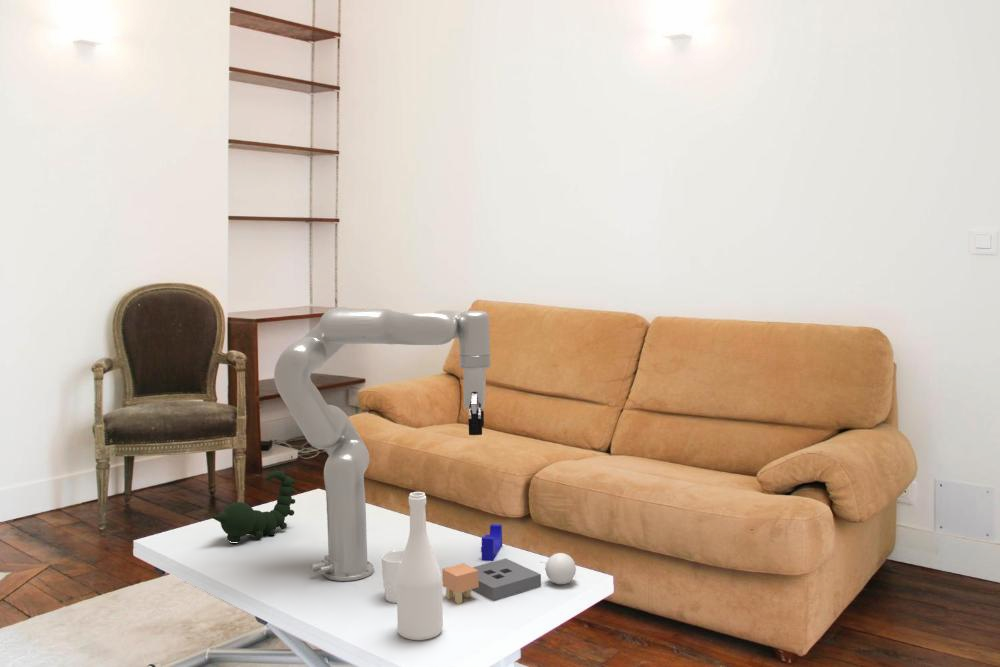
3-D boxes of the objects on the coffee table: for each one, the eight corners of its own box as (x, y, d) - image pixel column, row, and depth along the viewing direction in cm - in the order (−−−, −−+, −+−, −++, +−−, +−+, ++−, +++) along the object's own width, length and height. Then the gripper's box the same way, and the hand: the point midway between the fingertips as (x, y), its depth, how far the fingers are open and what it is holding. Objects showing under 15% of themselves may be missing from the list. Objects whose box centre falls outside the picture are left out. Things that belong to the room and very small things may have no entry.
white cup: (402, 607, 207) (401, 564, 206) (375, 600, 212) (374, 558, 211) (423, 595, 214) (422, 553, 213) (397, 588, 218) (395, 548, 217)
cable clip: (485, 545, 249) (485, 523, 248) (502, 546, 248) (502, 524, 247) (476, 560, 237) (475, 538, 236) (493, 561, 236) (492, 539, 236)
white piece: (582, 583, 220) (582, 554, 219) (559, 591, 215) (559, 561, 214) (554, 572, 228) (554, 543, 227) (531, 579, 223) (531, 550, 222)
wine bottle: (445, 622, 199) (442, 487, 195) (440, 642, 189) (437, 500, 186) (401, 622, 199) (398, 487, 196) (394, 641, 190) (390, 500, 186)
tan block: (457, 605, 208) (456, 576, 207) (442, 597, 213) (442, 568, 212) (478, 598, 211) (478, 570, 211) (464, 591, 216) (463, 563, 216)
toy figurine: (281, 530, 269) (202, 543, 251) (283, 466, 268) (205, 475, 250) (299, 537, 263) (220, 551, 244) (302, 471, 262) (223, 481, 244)
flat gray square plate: (493, 600, 210) (493, 588, 210) (459, 582, 221) (459, 570, 221) (541, 586, 218) (540, 574, 218) (505, 569, 230) (505, 558, 229)
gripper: (461, 357, 232) (463, 423, 234) (456, 366, 215) (458, 438, 217) (491, 356, 232) (493, 423, 234) (488, 366, 215) (490, 438, 217)
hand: (476, 430), depth 225 cm, fingers open, 9 cm apart
